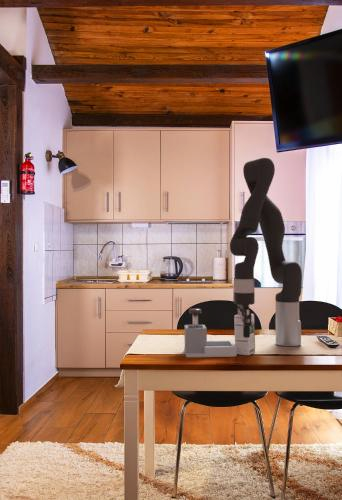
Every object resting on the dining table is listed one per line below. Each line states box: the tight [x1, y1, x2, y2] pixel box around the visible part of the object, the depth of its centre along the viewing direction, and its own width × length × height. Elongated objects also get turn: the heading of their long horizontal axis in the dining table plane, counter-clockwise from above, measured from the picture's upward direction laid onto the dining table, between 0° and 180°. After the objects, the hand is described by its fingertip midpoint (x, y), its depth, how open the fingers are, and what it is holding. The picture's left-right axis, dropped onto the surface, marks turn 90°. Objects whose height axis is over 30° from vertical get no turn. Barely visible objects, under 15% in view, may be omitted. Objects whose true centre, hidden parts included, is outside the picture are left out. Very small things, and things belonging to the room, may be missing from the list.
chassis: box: [183, 324, 238, 358], centre depth 175 cm, size 18×11×10 cm, turn 92°
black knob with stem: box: [188, 307, 202, 328], centre depth 175 cm, size 4×4×8 cm
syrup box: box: [233, 313, 256, 356], centre depth 175 cm, size 6×6×14 cm
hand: (244, 335), depth 175 cm, fingers closed on syrup box, 7 cm apart
